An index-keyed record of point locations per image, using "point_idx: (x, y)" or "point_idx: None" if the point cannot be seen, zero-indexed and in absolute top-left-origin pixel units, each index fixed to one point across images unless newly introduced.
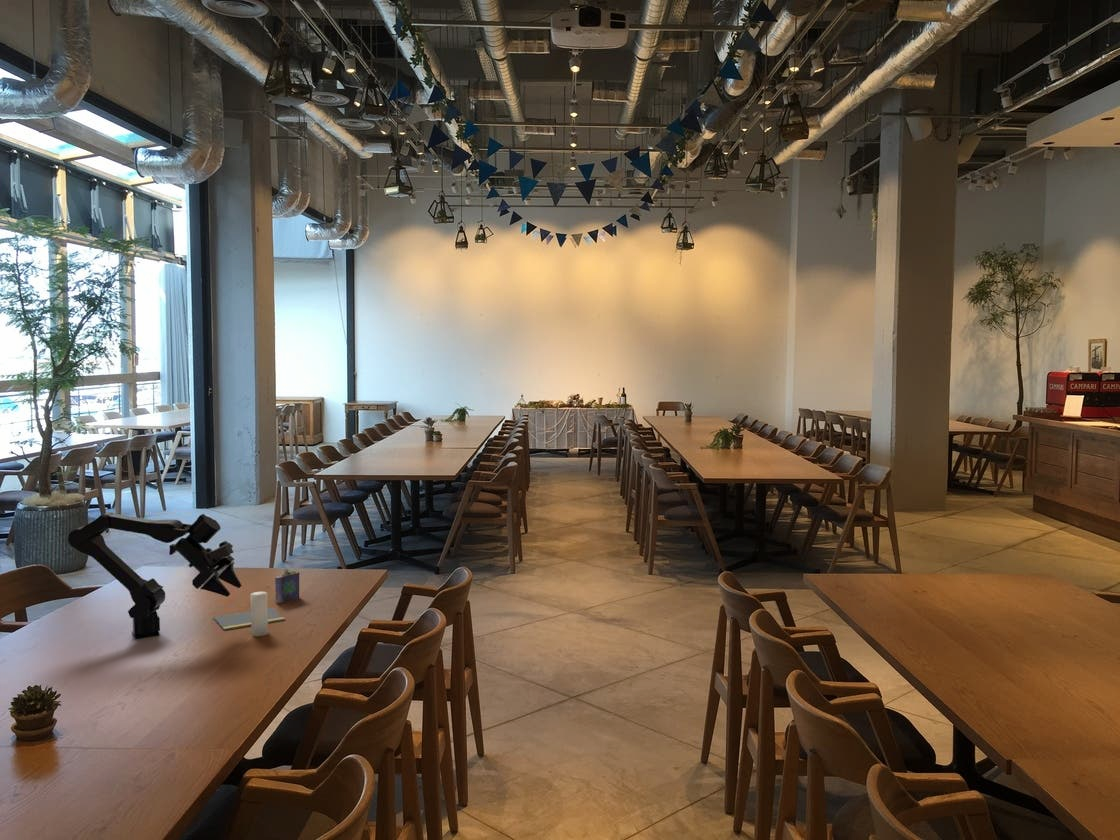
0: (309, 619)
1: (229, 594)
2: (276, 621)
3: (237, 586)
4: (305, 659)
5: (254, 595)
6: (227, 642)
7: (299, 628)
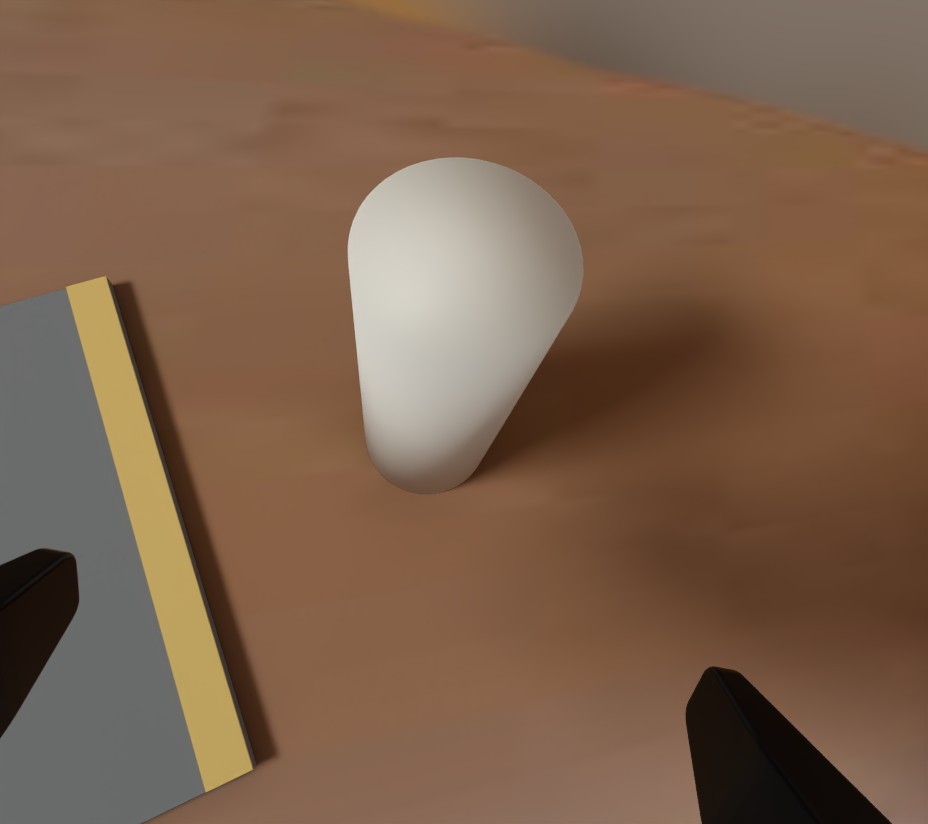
0: (154, 135)
1: (734, 678)
2: (128, 341)
3: (48, 638)
4: (908, 163)
5: (554, 303)
6: (600, 657)
7: (355, 192)
